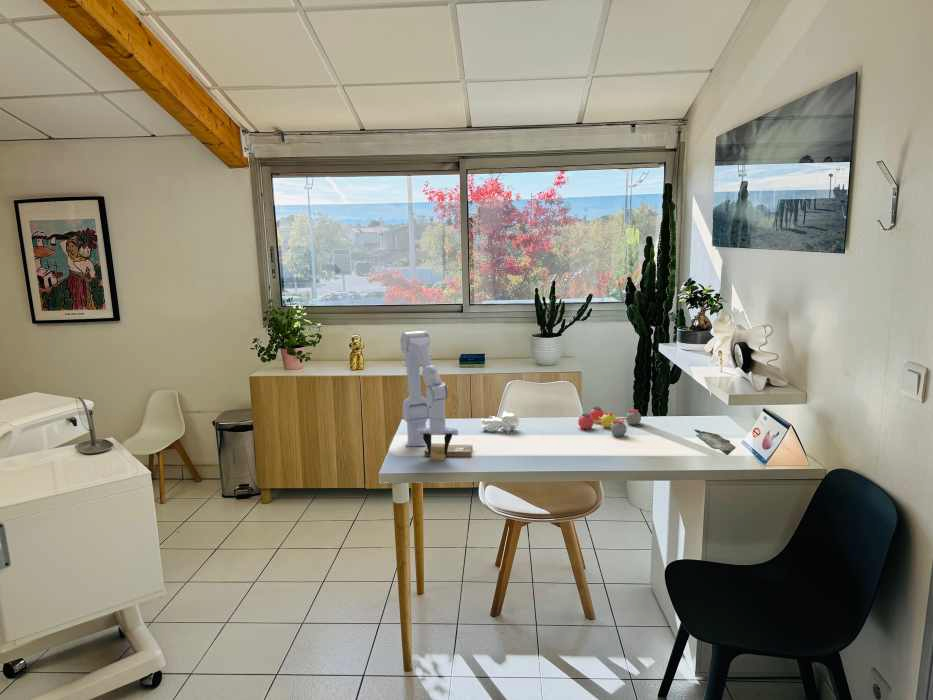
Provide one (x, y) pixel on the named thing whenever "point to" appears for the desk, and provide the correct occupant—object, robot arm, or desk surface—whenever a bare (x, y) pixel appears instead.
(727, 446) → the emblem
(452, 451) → the board
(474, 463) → the desk surface
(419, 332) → the robot arm
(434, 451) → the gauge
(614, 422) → the molecule model
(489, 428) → the figurine
